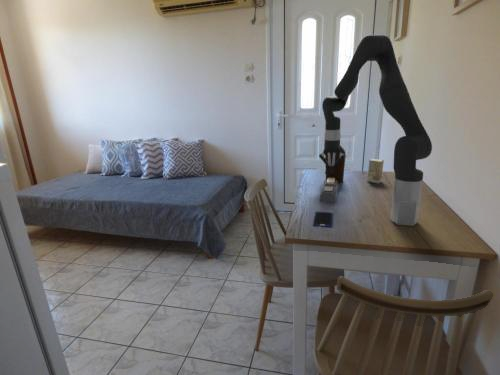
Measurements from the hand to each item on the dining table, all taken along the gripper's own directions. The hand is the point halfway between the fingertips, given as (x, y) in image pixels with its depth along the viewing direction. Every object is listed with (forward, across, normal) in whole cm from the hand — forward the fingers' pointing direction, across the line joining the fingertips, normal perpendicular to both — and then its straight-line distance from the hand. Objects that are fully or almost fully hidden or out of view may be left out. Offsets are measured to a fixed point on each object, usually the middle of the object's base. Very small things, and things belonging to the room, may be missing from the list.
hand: (331, 172), depth 154 cm
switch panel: (+9, 0, -8) cm, 12 cm away
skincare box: (+9, +22, +16) cm, 29 cm away
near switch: (+4, 0, -14) cm, 14 cm away
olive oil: (+9, +1, +13) cm, 16 cm away
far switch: (+4, 0, -2) cm, 5 cm away
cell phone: (+10, 0, -39) cm, 40 cm away
